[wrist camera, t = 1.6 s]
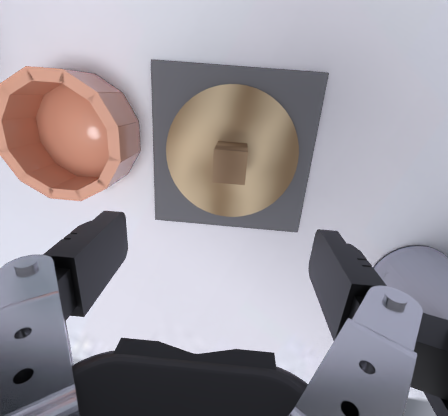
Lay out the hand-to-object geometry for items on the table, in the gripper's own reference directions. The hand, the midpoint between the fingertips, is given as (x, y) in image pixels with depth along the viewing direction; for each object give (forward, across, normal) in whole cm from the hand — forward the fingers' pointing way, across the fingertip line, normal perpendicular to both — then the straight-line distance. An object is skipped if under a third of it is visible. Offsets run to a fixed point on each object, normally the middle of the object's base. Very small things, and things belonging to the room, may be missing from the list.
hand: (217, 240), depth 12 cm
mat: (+18, 0, 0) cm, 18 cm away
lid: (+18, 0, 0) cm, 18 cm away
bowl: (+18, +15, -1) cm, 23 cm away
